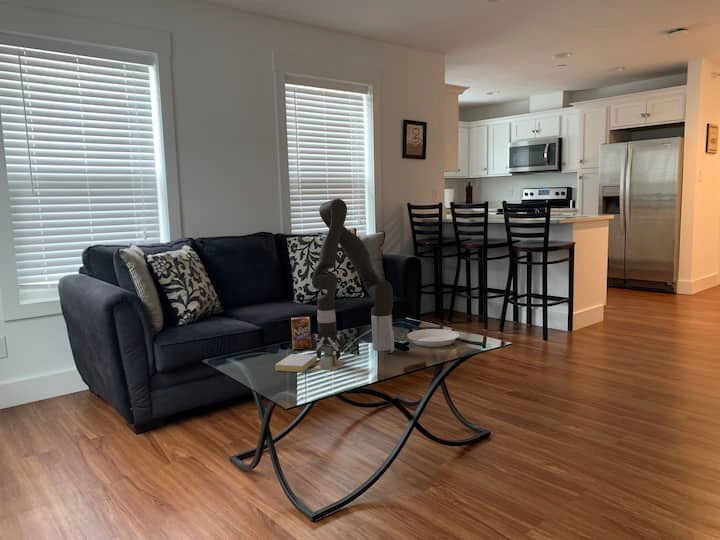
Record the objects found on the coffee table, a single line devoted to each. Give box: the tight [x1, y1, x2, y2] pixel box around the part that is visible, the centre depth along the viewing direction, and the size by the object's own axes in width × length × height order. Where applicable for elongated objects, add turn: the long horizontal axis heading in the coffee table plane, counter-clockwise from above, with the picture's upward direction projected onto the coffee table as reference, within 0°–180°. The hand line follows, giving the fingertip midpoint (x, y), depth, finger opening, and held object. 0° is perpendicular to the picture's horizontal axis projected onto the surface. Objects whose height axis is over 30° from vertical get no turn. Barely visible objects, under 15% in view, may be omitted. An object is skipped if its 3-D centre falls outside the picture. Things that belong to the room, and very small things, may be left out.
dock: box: [274, 353, 318, 373], centre depth 234 cm, size 12×16×4 cm
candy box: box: [290, 316, 312, 350], centre depth 266 cm, size 9×4×15 cm, turn 98°
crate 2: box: [333, 351, 339, 364], centre depth 236 cm, size 4×4×4 cm
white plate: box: [406, 328, 460, 348], centre depth 268 cm, size 25×25×4 cm
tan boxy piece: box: [312, 344, 346, 371], centre depth 233 cm, size 14×10×10 cm
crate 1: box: [319, 355, 333, 369], centre depth 229 cm, size 4×4×4 cm
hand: (328, 358), depth 233 cm, fingers open, 7 cm apart
